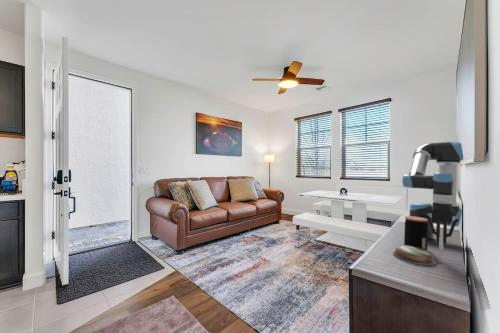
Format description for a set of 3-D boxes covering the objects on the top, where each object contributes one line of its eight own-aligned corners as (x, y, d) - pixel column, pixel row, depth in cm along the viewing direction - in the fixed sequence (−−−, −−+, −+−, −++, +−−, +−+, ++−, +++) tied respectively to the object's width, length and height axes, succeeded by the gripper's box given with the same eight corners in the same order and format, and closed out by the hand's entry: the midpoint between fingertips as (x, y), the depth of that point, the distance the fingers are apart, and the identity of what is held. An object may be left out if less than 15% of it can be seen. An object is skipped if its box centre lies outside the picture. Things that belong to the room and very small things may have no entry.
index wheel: (409, 249, 124) (410, 233, 124) (441, 261, 109) (441, 243, 109) (388, 252, 119) (388, 235, 119) (418, 264, 104) (419, 245, 104)
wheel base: (409, 249, 125) (409, 247, 125) (445, 263, 108) (445, 260, 108) (385, 252, 120) (385, 250, 120) (419, 267, 102) (419, 264, 102)
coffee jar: (421, 246, 131) (421, 216, 131) (431, 253, 120) (432, 221, 120) (400, 245, 133) (401, 215, 133) (409, 251, 123) (410, 219, 123)
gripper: (460, 203, 109) (459, 250, 109) (426, 200, 118) (425, 243, 118) (459, 205, 104) (458, 254, 104) (424, 201, 113) (423, 247, 113)
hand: (441, 248), depth 111 cm, fingers closed
